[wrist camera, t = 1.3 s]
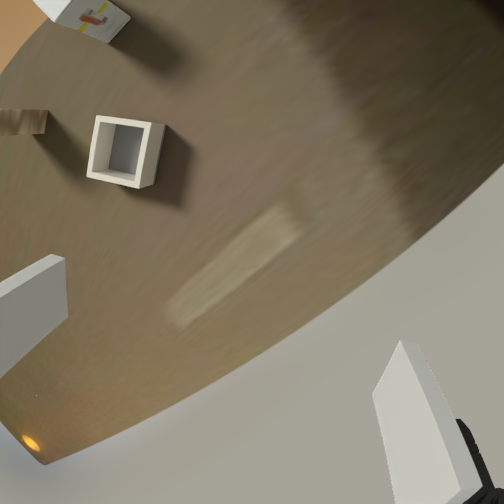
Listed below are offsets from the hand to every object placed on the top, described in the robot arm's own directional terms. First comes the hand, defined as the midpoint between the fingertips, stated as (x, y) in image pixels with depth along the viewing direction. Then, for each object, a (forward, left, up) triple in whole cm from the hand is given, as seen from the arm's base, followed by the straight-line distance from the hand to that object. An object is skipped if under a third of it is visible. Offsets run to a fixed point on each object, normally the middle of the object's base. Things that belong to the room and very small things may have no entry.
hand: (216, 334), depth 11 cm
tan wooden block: (-5, -36, -28) cm, 45 cm away
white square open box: (-3, -18, -28) cm, 33 cm away
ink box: (-21, -28, -28) cm, 44 cm away
